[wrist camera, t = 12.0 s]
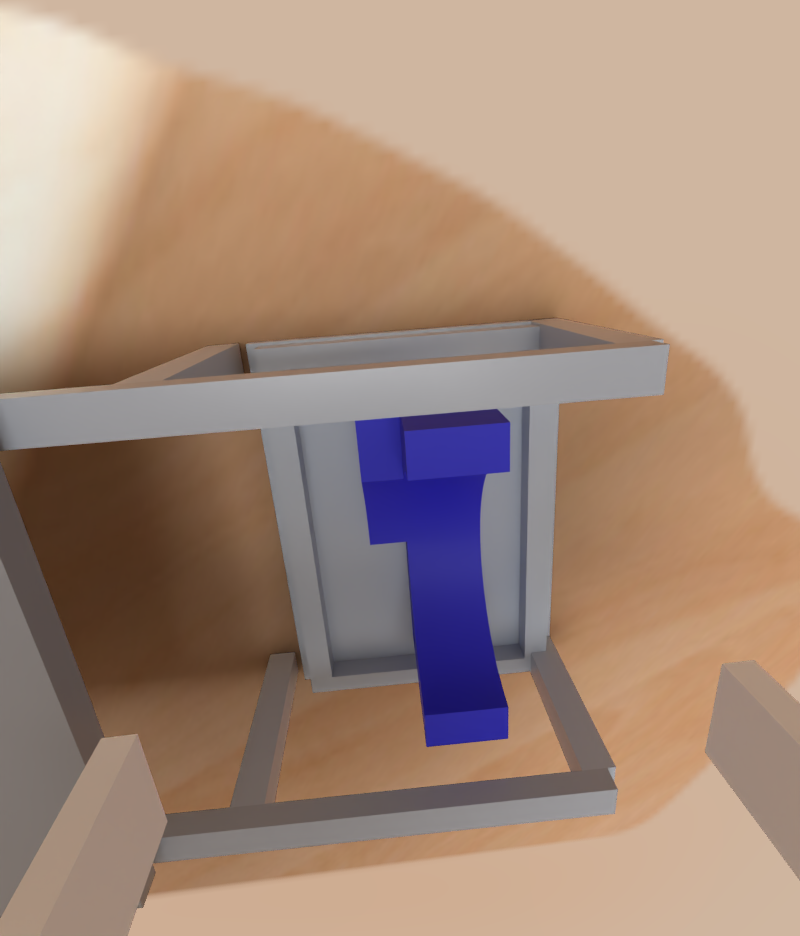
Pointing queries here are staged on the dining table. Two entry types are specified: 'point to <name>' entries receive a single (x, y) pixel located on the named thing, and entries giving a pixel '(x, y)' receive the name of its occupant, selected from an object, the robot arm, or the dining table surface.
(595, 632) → the dining table surface
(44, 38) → the dining table surface
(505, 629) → the grey frame rack
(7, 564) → the lid
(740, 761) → the robot arm
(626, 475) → the dining table surface
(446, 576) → the blue bracket
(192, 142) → the dining table surface
